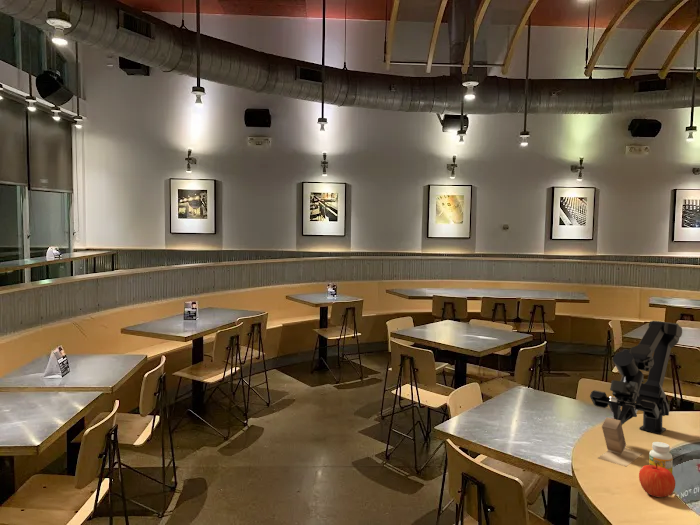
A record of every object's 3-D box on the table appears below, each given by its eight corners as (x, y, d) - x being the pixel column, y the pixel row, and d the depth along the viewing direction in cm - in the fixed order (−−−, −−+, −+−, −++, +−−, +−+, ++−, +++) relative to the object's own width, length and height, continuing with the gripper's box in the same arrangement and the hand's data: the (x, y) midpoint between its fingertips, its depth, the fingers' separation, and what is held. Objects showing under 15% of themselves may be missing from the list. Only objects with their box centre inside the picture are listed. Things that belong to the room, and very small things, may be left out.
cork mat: (615, 446, 162) (615, 445, 162) (643, 454, 156) (643, 452, 156) (597, 459, 152) (597, 458, 152) (626, 467, 146) (626, 466, 146)
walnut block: (612, 441, 160) (606, 417, 156) (626, 445, 157) (620, 420, 153) (607, 450, 157) (601, 426, 154) (621, 454, 155) (615, 429, 151)
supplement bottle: (677, 482, 137) (677, 446, 137) (661, 485, 136) (662, 449, 135) (659, 474, 142) (660, 439, 142) (644, 476, 141) (644, 442, 140)
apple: (637, 496, 130) (637, 465, 129) (640, 484, 136) (640, 454, 136) (674, 505, 125) (674, 473, 125) (675, 492, 132) (676, 461, 131)
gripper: (592, 365, 166) (577, 406, 159) (657, 375, 153) (643, 420, 145) (602, 385, 172) (587, 425, 165) (665, 396, 158) (652, 441, 151)
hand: (616, 427), depth 156 cm, fingers closed
